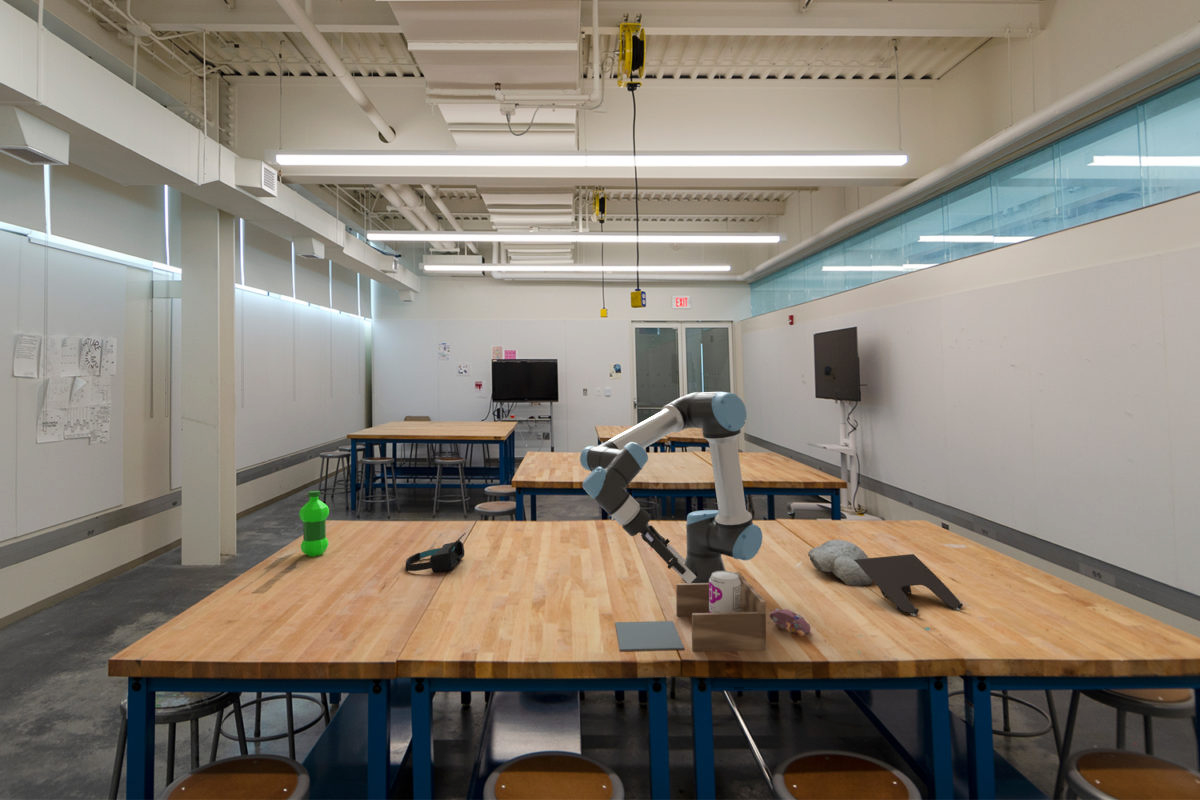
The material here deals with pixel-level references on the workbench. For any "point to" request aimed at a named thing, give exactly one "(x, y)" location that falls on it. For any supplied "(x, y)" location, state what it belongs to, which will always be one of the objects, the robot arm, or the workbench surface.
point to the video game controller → (789, 620)
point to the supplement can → (724, 592)
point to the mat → (648, 636)
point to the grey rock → (840, 561)
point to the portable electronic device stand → (905, 580)
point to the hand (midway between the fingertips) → (687, 571)
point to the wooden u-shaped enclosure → (723, 619)
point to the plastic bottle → (314, 525)
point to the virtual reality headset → (438, 558)
